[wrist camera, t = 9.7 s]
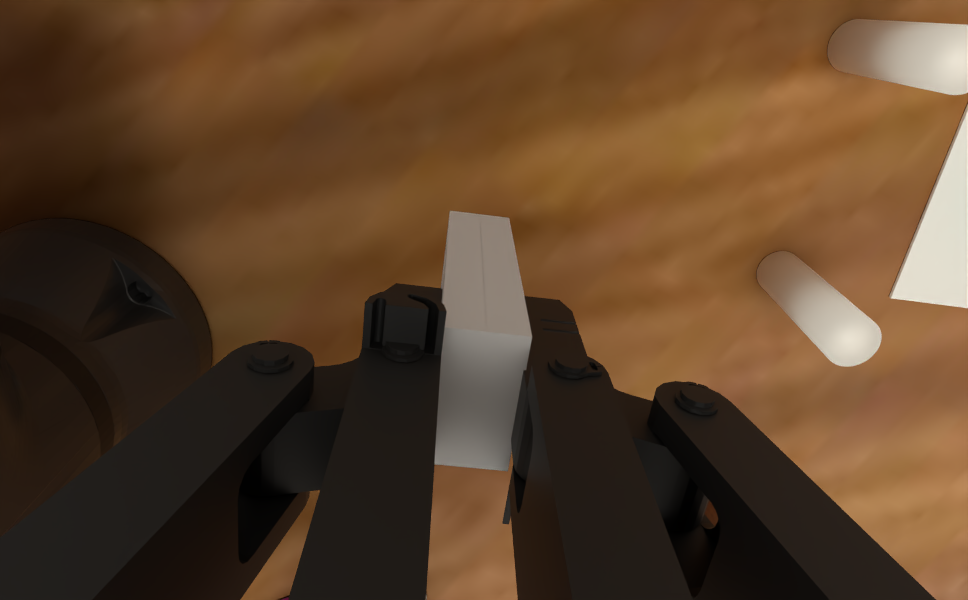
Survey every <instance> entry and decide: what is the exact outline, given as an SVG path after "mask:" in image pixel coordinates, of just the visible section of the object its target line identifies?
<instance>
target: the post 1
mask: <svg viewBox="0 0 968 600" xmlns="http://www.w3.org/2000/svg"><path fill="white" fill-rule="evenodd" d="M756 277H757V281H758V283H759V285H760V286H761V287H762V288H763V289H764V290H765V291H766V292H767V293H768V295H769V296H770V297H771V298H772V299H773V300H774V301H775V302H776V303H777V304H778V305H779V306H780V307H781V308H782V309H783V311H784V312H785V313H786V314H787V315H788V316H789V317H790V318H791V319H792V320H793V321H794V322H795V323H796V324H797V326H798V327H799V328H800V329H801V330H802V331H803V332H804V333H805V334H806V335H807V336H808V337H809V338H810V339H811V341H812V342H813V343H814V344H815V345H816V346H817V347H818V348H819V349H820V350H821V351H822V352H823V353H824V354H825V356H826V357H827V358H828V359H829V360H830V361H831V362H833V363H834V364H836V365H839V366H855V365H858V364H861V363H863V362H865V361H867V360H868V359H869V358H871V357H872V356H873V355H874V354H875V353H876V351H877V350H878V348H879V346H880V343H881V331H880V328H879V327H878V325H877V324H876V323H875V322H874V321H872V320H871V319H870V318H869V317H868V316H867V315H865V314H864V313H863V312H862V311H861V310H859V309H858V308H857V307H856V306H855V305H854V304H852V303H851V302H850V301H849V300H848V299H846V298H845V297H844V296H843V295H842V294H841V293H839V292H838V291H837V290H836V289H835V288H833V287H832V286H831V285H830V284H829V283H828V282H826V281H825V280H824V279H823V278H822V277H820V276H819V275H818V274H817V273H816V272H815V271H813V270H812V269H811V268H810V267H809V266H807V265H806V264H805V263H804V262H803V261H802V260H800V259H799V258H798V257H797V256H796V255H794V254H793V253H791V252H787V251H778V252H774V253H771V254H770V255H768V256H766V257H765V258H764V259H763V260H762V261H761V263H760V264H759V266H758V268H757V273H756Z"/></svg>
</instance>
